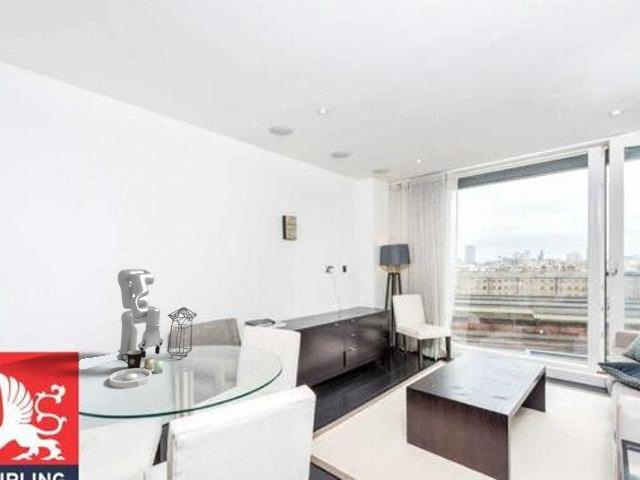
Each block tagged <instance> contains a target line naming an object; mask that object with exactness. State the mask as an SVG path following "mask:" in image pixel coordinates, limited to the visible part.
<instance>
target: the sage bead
mask: <svg viewBox="0 0 640 480" xmlns="http://www.w3.org/2000/svg"><path fill="white" fill-rule="evenodd" d="M163 368H164V361H162V360H157V361H154V362H153V374H156V375H158V374H159V375H160V374H162V373H163V370H164V369H163Z"/></svg>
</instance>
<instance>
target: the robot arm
mask: <svg viewBox="0 0 640 480" xmlns="http://www.w3.org/2000/svg"><path fill="white" fill-rule="evenodd" d="M154 281H155V277H154V274H153V273H152V272H151V271H148V270H146V269H143V268H142V269H140V268H139V269H138V268H137V269H135V268H134V269H133V268H131V269H122V270H120V271H119V272H118V274H117V283H118V285H119V289H120V292H121V293H120V294H121V302H122V307H123V309H126V311H124V312H123V313H122V314H121V317H120V318H121V319H120V320H121V321H120V322H121V336H120V345H119V347H120V348H119V349H118V350H117V352H118V354H117V355H116V359H117V360H122V358H123V359H124V360H125V361H128V357H127V355H123V354H127V352H129V351H133V350H137V347H138V350H141V357H142V359H143V358H144V359H146V355H147V354H146V353H147V351H146V350H147V348H152V347H155V352H154V354H156V355H159V354H160V348H161V347H162V345H163V343H164V339H163V338H161V330H160V327H161V325H160V314H161V313H160V312H161V310H160V308H157V307H156V306H152V305H149V298H148V297H147V296H148V295H149V293H150V292H149V291H150V290H149V288H148V285H149V286H150V285H153V284H154ZM140 324H145V329H144V331H143V334H142V338H141V342H140V343H138V344H137V342H138V329H137V327H136V326H135V325H140ZM122 355H123V356H122ZM121 356H122V358H121ZM122 361H123V360H122Z"/></svg>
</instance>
